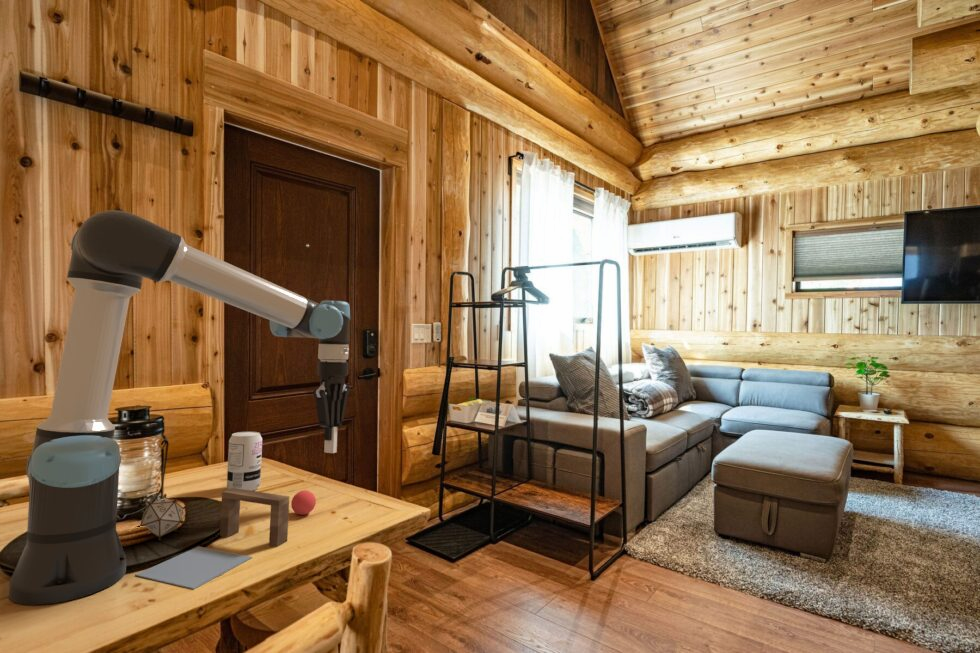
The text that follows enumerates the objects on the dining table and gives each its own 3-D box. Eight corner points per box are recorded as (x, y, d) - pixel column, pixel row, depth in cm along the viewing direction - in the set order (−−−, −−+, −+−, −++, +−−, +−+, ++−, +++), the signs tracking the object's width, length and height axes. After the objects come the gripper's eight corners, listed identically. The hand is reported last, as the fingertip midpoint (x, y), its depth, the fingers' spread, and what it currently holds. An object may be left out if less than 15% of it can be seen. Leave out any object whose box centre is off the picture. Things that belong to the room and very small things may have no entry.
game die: (171, 553, 106) (201, 516, 106) (128, 550, 99) (160, 511, 99) (164, 521, 112) (192, 486, 111) (123, 517, 105) (153, 480, 105)
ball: (305, 519, 117) (306, 495, 118) (285, 516, 119) (286, 492, 119) (320, 512, 123) (321, 489, 123) (300, 509, 124) (301, 486, 125)
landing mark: (193, 589, 84) (193, 588, 84) (135, 575, 88) (135, 574, 88) (251, 558, 97) (252, 556, 97) (198, 547, 100) (198, 546, 100)
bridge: (277, 546, 102) (279, 500, 102) (219, 535, 106) (222, 491, 107) (287, 541, 105) (289, 496, 105) (231, 530, 109) (233, 487, 109)
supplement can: (227, 486, 140) (229, 431, 141) (259, 483, 144) (262, 430, 144) (225, 494, 133) (228, 437, 133) (260, 491, 137) (262, 436, 137)
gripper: (330, 362, 124) (327, 459, 123) (359, 360, 136) (357, 448, 136) (304, 361, 126) (301, 456, 125) (335, 359, 138) (332, 445, 138)
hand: (330, 452), depth 131 cm, fingers closed
